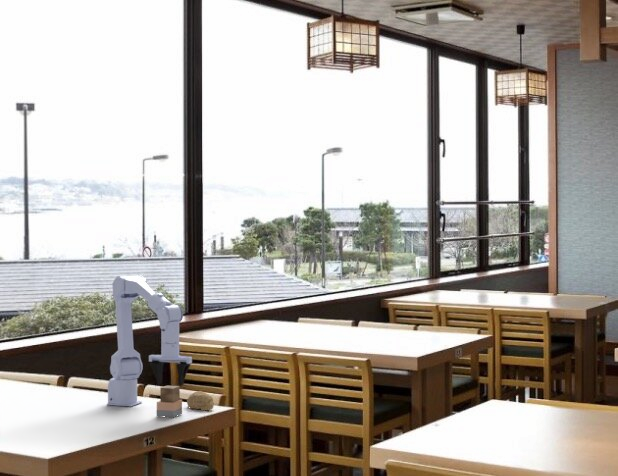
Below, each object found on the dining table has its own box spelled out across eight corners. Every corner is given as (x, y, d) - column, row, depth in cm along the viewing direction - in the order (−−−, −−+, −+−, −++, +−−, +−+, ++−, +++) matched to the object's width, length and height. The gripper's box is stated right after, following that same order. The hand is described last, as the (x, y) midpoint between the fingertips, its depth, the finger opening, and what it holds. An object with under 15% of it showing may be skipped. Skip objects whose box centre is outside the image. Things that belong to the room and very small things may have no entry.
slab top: (156, 409, 304) (156, 402, 304) (165, 406, 310) (165, 398, 310) (173, 411, 302) (173, 403, 302) (182, 407, 308) (182, 399, 308)
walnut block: (160, 401, 304) (160, 387, 304) (167, 399, 309) (167, 385, 309) (173, 402, 303) (172, 388, 303) (179, 400, 307) (179, 386, 307)
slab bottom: (156, 417, 304) (156, 409, 304) (165, 414, 310) (165, 406, 310) (173, 418, 302) (173, 411, 302) (182, 415, 308) (182, 407, 308)
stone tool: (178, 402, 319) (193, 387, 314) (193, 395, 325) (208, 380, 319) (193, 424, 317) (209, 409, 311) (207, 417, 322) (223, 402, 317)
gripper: (144, 343, 304) (144, 385, 305) (185, 345, 300) (184, 388, 300) (154, 340, 311) (154, 382, 311) (194, 342, 306) (194, 384, 306)
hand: (170, 384), depth 306 cm, fingers open, 7 cm apart
